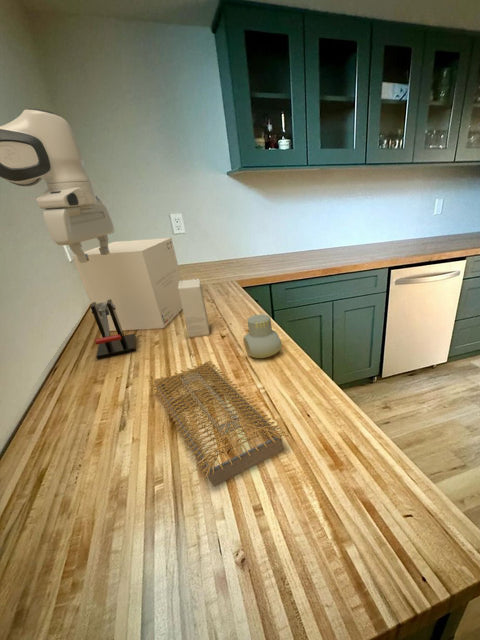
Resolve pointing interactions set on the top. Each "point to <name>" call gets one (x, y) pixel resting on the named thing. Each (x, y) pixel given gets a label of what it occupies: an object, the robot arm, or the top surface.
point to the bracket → (126, 342)
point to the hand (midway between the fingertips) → (95, 258)
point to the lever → (105, 325)
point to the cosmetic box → (194, 307)
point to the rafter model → (206, 394)
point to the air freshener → (261, 337)
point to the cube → (134, 282)
